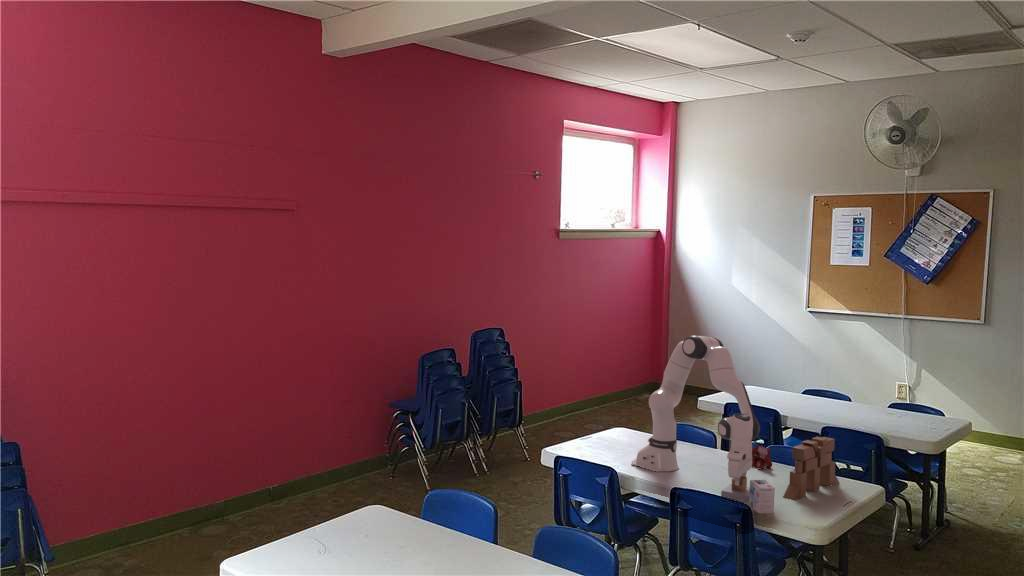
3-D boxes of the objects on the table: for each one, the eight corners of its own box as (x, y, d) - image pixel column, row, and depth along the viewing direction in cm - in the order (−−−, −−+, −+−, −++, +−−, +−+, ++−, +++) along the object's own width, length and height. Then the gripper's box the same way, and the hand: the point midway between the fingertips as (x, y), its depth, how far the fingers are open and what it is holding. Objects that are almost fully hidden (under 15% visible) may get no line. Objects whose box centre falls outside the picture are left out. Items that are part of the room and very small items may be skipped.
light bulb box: (748, 504, 330) (749, 479, 329) (764, 504, 330) (764, 479, 329) (758, 513, 319) (759, 487, 318) (774, 513, 320) (775, 487, 319)
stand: (721, 496, 340) (721, 490, 339) (731, 489, 349) (731, 483, 349) (748, 502, 333) (748, 496, 333) (757, 494, 342) (758, 489, 342)
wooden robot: (824, 479, 367) (826, 431, 366) (842, 483, 361) (844, 434, 359) (780, 497, 340) (782, 445, 339) (798, 502, 334) (801, 449, 332)
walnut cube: (731, 489, 341) (731, 478, 340) (735, 485, 345) (735, 474, 344) (743, 492, 338) (743, 480, 337) (746, 487, 342) (746, 476, 341)
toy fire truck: (757, 462, 392) (758, 442, 391) (774, 469, 380) (775, 448, 380) (746, 463, 389) (746, 443, 389) (762, 471, 378) (763, 449, 377)
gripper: (742, 445, 350) (741, 476, 351) (725, 455, 333) (724, 487, 334) (756, 448, 346) (755, 478, 347) (740, 458, 330) (739, 490, 331)
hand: (740, 483), depth 341 cm, fingers closed on walnut cube, 5 cm apart
